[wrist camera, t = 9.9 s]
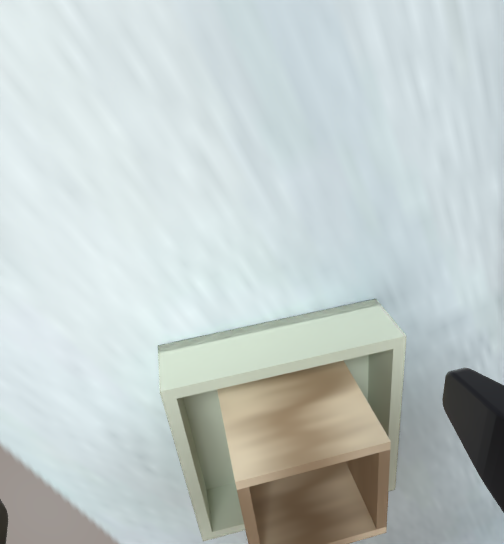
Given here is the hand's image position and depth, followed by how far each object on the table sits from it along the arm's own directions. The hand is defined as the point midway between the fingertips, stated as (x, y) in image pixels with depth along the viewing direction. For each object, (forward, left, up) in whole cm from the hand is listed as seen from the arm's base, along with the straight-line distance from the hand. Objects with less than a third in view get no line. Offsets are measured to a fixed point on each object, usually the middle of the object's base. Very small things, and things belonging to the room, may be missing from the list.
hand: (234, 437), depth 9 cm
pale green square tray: (-3, +12, -12) cm, 17 cm away
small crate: (-3, +12, -11) cm, 17 cm away
